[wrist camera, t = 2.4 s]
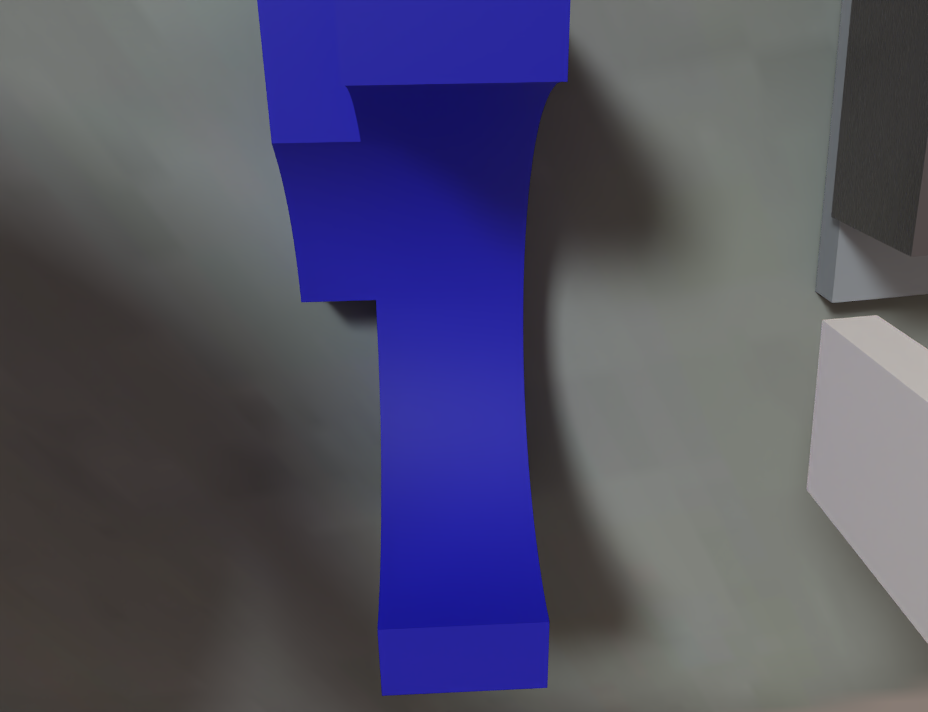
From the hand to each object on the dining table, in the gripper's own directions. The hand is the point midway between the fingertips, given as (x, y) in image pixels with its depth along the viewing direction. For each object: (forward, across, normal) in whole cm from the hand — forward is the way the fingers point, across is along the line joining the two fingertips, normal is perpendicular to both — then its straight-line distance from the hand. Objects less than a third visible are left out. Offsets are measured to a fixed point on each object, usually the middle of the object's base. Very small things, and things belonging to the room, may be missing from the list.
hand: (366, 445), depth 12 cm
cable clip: (+7, +1, 0) cm, 7 cm away
